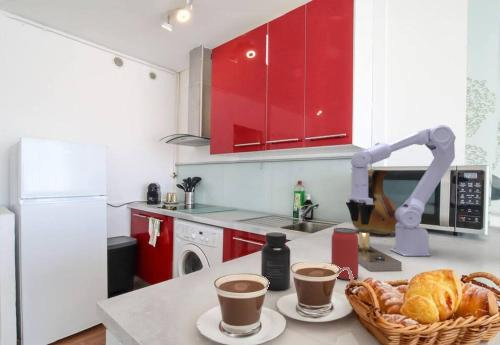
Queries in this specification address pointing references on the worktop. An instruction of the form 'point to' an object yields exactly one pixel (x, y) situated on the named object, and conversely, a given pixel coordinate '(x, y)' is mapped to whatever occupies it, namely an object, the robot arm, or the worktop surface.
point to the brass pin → (363, 242)
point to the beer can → (345, 251)
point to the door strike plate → (378, 261)
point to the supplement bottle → (276, 261)
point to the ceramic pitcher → (378, 206)
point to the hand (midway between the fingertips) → (359, 222)
